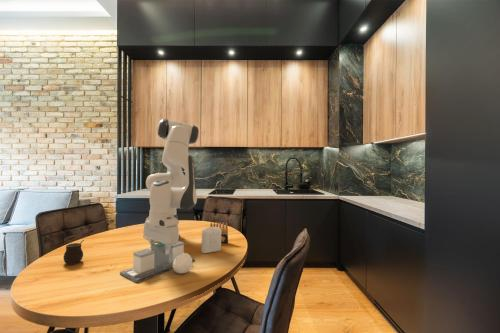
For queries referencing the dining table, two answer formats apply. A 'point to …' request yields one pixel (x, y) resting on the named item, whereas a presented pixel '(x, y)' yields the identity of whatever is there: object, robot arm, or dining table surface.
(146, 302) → the dining table surface
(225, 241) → the ammunition clip
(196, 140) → the robot arm
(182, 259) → the white lumpy ball
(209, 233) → the photo printer
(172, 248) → the plate
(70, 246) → the mate gourd
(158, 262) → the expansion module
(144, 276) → the rail panel
